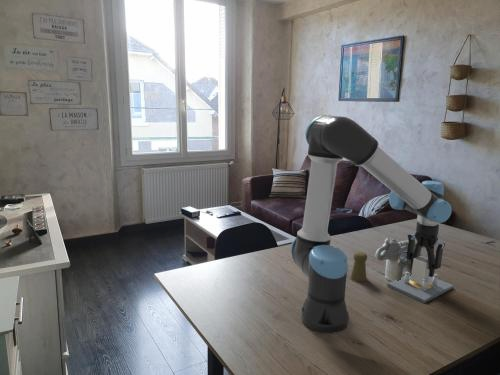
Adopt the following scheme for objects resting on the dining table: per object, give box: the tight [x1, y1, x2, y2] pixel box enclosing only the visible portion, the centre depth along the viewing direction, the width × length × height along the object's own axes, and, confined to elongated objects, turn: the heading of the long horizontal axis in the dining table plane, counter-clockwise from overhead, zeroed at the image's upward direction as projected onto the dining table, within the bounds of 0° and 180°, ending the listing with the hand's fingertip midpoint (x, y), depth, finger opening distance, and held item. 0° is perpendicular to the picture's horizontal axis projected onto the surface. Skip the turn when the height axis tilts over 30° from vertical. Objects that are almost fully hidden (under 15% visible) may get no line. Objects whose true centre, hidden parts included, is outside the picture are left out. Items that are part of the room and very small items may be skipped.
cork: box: [350, 251, 368, 283], centre depth 148 cm, size 6×6×11 cm
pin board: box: [386, 271, 454, 304], centre depth 142 cm, size 20×15×6 cm
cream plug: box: [411, 255, 429, 285], centre depth 141 cm, size 5×5×9 cm
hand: (420, 280), depth 142 cm, fingers closed on cream plug, 5 cm apart
